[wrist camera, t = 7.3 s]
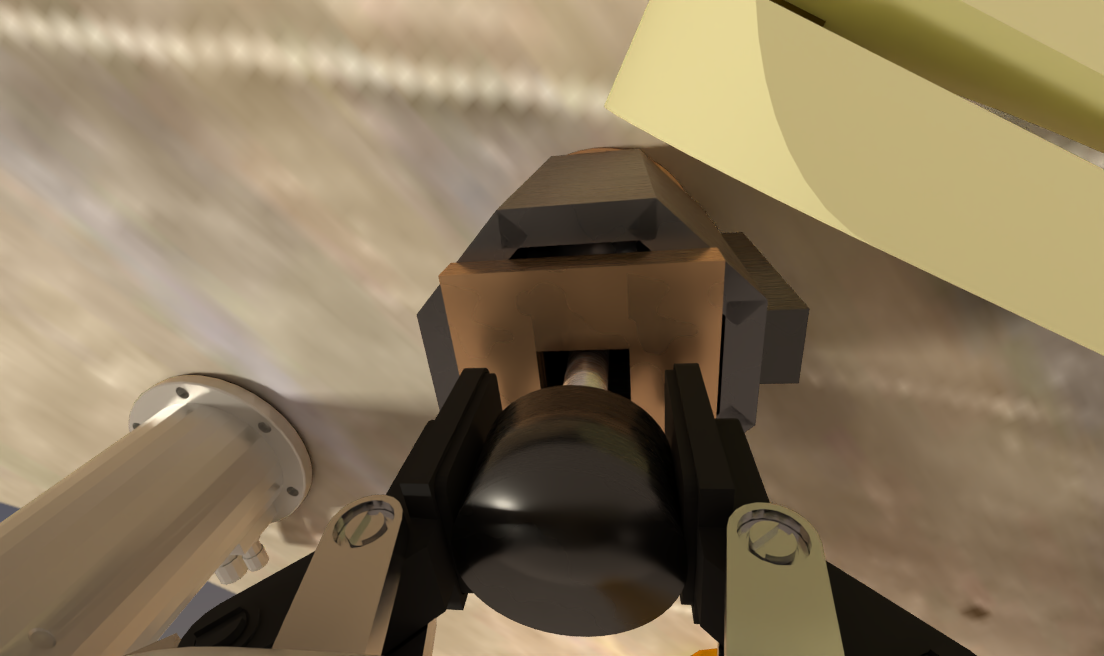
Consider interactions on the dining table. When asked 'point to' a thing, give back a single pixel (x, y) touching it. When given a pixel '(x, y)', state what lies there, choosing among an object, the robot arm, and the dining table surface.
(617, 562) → the plunger
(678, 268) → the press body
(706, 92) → the slatted curved stool
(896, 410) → the dining table surface
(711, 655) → the yellow tall piece
